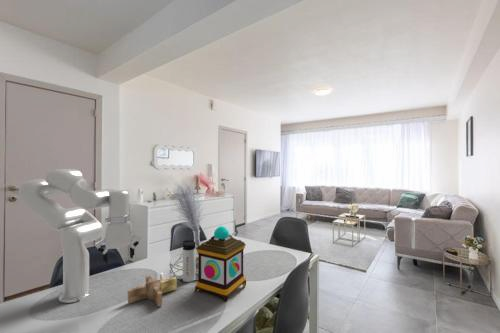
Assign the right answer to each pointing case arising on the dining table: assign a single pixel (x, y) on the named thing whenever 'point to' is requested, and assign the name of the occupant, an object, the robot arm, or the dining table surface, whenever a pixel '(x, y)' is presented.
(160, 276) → the window posts
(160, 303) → the wooden cross piece
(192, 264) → the travel mug
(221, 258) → the decorative lantern
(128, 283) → the dining table surface
